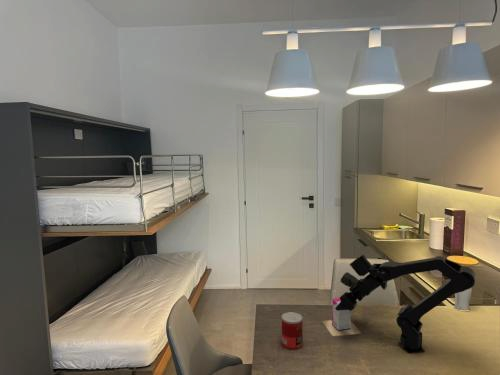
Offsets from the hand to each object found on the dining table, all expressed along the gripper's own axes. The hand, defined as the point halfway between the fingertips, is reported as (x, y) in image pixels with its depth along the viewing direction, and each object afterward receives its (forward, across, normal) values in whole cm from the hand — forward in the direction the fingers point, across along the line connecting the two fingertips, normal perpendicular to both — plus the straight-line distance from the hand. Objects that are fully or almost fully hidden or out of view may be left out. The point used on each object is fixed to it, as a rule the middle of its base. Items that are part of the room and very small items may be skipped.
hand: (340, 305), depth 140 cm
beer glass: (-22, -45, +36) cm, 62 cm away
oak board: (+7, 0, +8) cm, 11 cm away
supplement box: (+6, 0, +7) cm, 10 cm away
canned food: (+14, +22, -1) cm, 26 cm away
